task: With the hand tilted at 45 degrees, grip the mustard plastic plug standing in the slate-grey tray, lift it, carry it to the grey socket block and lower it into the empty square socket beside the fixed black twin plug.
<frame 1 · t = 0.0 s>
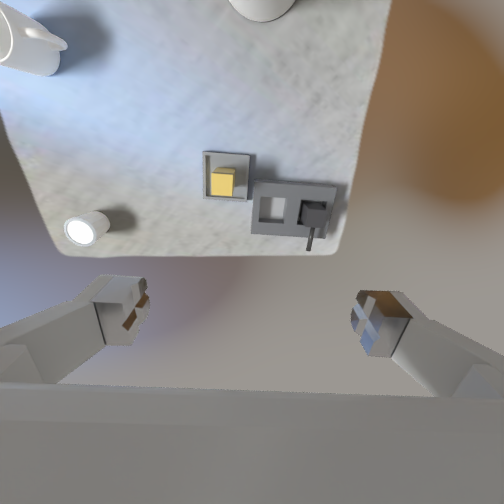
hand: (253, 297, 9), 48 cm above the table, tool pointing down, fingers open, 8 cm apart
plug: (225, 177, 53), resting on tray
white cylinder: (98, 221, 58), on the table
grey socket block: (289, 207, 57), on the table
cup: (49, 50, 43), on the table
tray: (226, 177, 53), on the table
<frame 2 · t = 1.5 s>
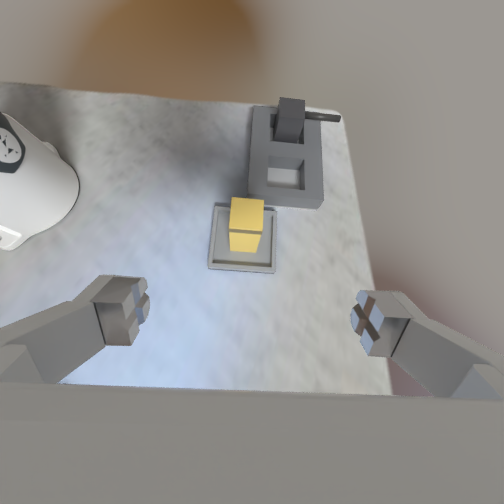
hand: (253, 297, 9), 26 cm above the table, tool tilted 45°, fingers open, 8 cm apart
plug: (243, 239, 37), resting on tray
grey socket block: (282, 163, 43), on the table
tray: (243, 240, 37), on the table
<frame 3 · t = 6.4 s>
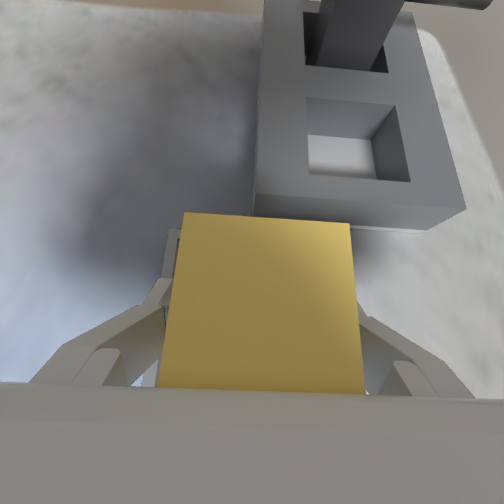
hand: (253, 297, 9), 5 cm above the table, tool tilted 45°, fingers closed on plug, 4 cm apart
plug: (247, 319, 14), resting on tray, touching gripper
grey socket block: (329, 127, 19), on the table
tray: (246, 320, 14), on the table
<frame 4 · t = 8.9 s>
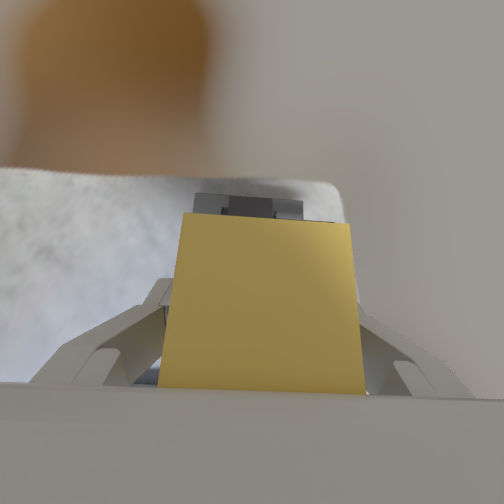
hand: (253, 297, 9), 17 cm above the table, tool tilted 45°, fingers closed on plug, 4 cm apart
plug: (247, 320, 14), point 12 cm above the table, touching gripper
grey socket block: (244, 282, 27), on the table
when the fingers open (7 cm above the table, at t = 11.4 s): plug drops 2 cm, resting on grey socket block.
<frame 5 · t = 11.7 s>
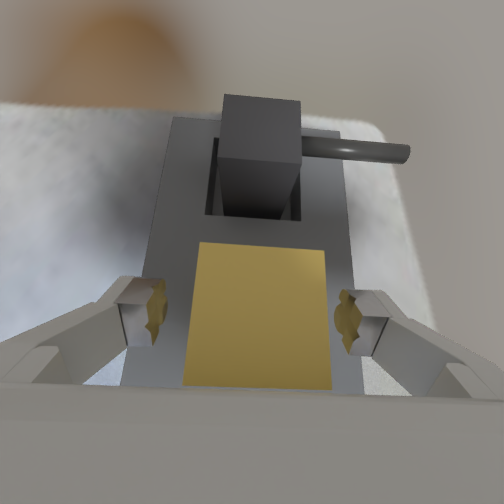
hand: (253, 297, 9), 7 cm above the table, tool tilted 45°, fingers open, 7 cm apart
plug: (245, 321, 15), point 1 cm above the table, touching grey socket block
grey socket block: (249, 257, 17), on the table
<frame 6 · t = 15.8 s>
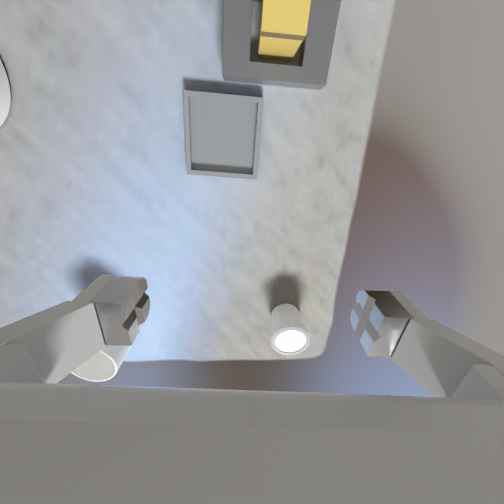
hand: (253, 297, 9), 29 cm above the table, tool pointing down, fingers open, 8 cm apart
plug: (276, 39, 28), resting on grey socket block
white cylinder: (284, 313, 47), on the table
cup: (119, 313, 47), on the table
tray: (223, 138, 33), on the table
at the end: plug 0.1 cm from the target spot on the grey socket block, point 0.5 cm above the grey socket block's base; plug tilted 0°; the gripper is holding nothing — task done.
